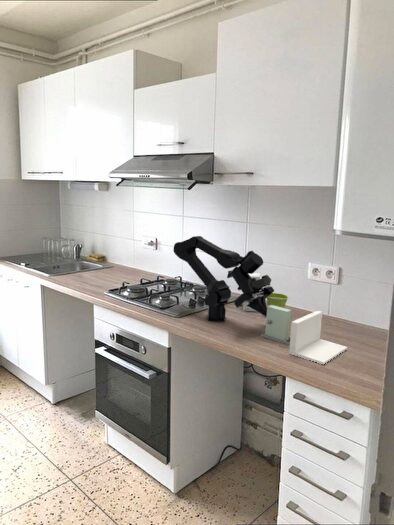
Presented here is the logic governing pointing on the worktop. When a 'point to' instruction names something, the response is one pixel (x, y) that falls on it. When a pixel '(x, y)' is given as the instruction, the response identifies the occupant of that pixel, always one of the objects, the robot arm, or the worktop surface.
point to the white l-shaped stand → (310, 340)
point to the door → (278, 322)
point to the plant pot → (277, 299)
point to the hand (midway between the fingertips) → (267, 315)
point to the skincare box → (245, 308)
